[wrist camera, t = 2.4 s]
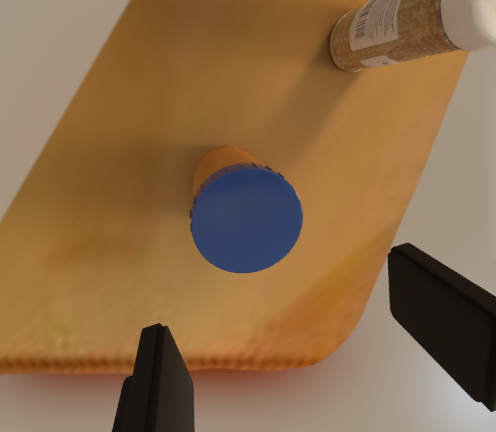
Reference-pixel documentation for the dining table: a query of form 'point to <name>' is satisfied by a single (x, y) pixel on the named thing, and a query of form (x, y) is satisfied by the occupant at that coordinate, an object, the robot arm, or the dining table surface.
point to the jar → (219, 163)
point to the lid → (245, 218)
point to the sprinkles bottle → (411, 31)
